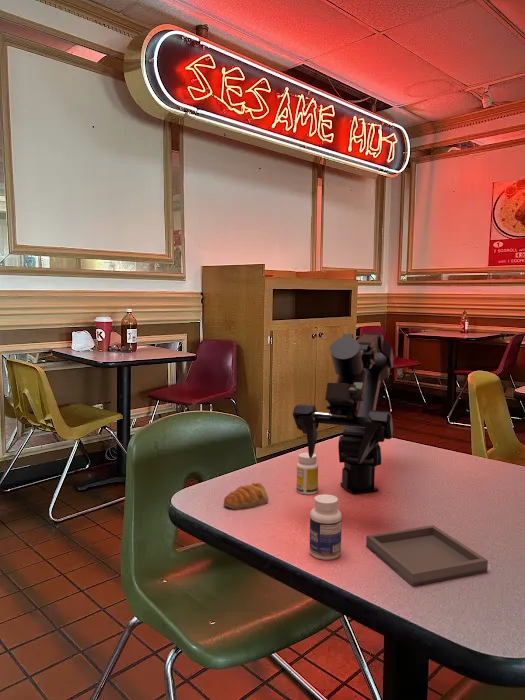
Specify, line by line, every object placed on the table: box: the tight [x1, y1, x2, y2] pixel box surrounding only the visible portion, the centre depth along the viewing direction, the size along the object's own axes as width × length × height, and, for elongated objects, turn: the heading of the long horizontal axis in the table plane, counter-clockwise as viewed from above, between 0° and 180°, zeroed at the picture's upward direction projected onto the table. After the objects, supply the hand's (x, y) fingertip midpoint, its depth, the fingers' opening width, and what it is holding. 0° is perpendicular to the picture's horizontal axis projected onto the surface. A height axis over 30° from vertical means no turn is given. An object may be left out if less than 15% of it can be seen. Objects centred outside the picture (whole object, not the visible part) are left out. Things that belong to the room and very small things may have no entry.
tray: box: [365, 524, 489, 588], centre depth 92 cm, size 14×14×2 cm
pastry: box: [223, 482, 269, 510], centre depth 116 cm, size 9×7×4 cm
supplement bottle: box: [296, 452, 319, 495], centre depth 123 cm, size 5×5×8 cm
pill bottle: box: [309, 494, 343, 561], centre depth 93 cm, size 5×5×10 cm
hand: (334, 459), depth 101 cm, fingers open, 9 cm apart
